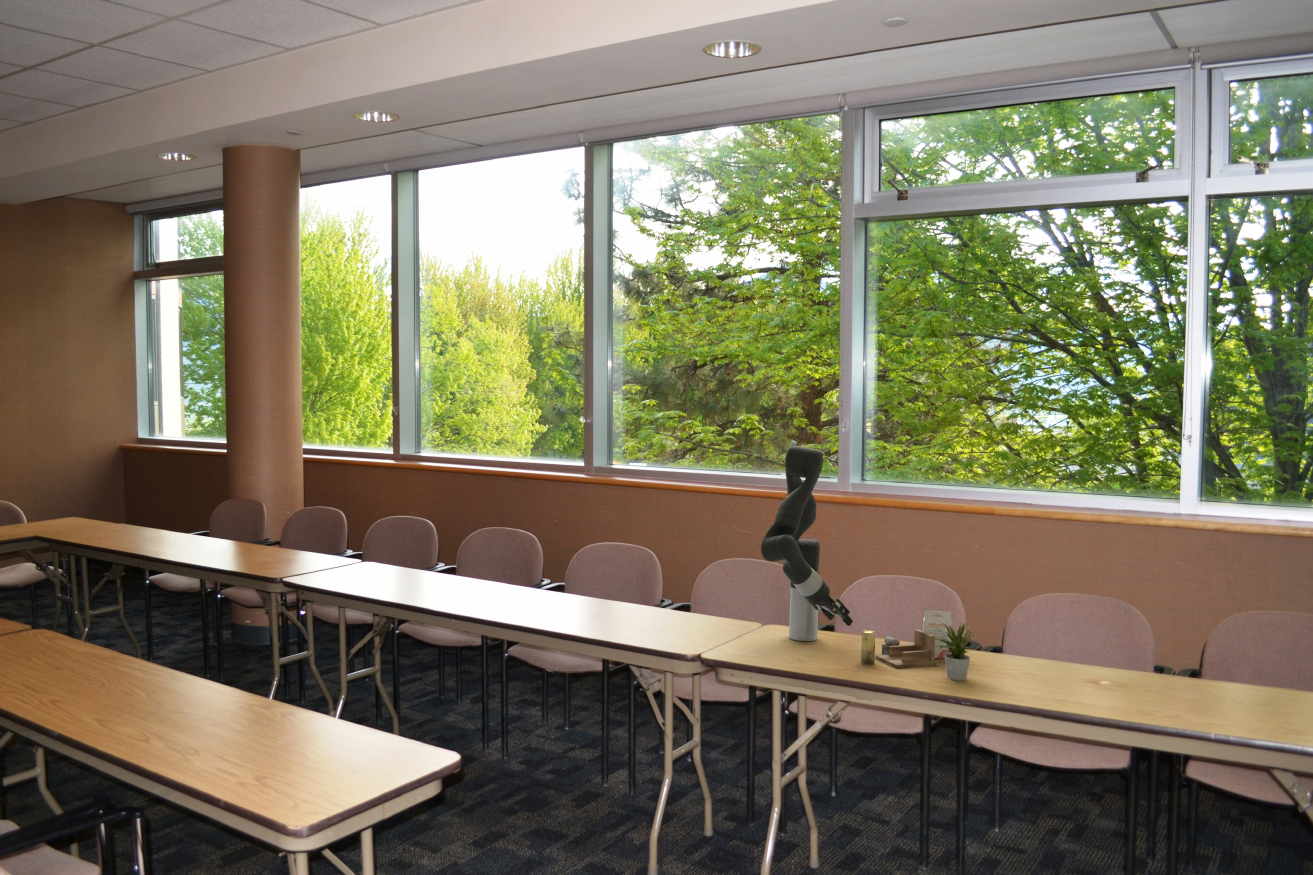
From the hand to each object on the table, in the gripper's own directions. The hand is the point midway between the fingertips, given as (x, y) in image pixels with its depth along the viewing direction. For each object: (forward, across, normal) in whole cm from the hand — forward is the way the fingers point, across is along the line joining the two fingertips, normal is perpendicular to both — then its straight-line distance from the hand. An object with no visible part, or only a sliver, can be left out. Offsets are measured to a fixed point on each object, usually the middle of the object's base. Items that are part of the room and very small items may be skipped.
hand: (841, 620), depth 289 cm
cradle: (+26, -2, -6) cm, 26 cm away
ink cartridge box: (+35, -3, -15) cm, 38 cm away
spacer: (+17, 0, +2) cm, 17 cm away
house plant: (+27, -23, -7) cm, 36 cm away
